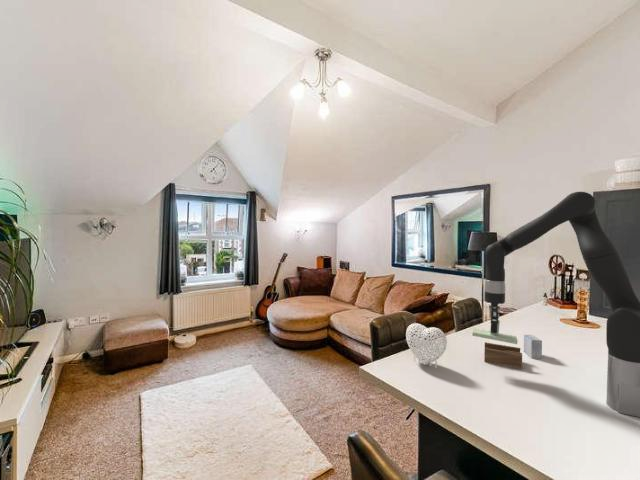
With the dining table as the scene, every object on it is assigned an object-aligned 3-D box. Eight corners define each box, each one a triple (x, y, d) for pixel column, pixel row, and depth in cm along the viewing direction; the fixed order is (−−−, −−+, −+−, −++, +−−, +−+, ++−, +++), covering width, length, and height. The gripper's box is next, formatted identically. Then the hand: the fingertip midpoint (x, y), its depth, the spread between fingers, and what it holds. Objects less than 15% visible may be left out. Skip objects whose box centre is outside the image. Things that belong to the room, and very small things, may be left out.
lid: (517, 344, 119) (518, 326, 119) (472, 335, 127) (473, 318, 126) (515, 339, 125) (517, 321, 124) (472, 331, 132) (474, 314, 132)
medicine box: (542, 359, 138) (542, 340, 137) (531, 358, 138) (531, 340, 138) (533, 352, 145) (534, 334, 145) (523, 351, 146) (523, 334, 146)
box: (521, 368, 128) (522, 354, 127) (484, 361, 134) (484, 348, 134) (519, 361, 136) (520, 347, 135) (484, 354, 142) (484, 341, 142)
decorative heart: (400, 361, 134) (401, 323, 134) (412, 354, 142) (412, 318, 141) (440, 375, 122) (440, 333, 121) (450, 367, 129) (451, 327, 129)
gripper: (506, 294, 117) (505, 338, 118) (504, 288, 130) (503, 328, 130) (484, 292, 121) (483, 335, 122) (484, 287, 133) (483, 325, 134)
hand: (493, 331), depth 126 cm, fingers closed on lid, 2 cm apart
